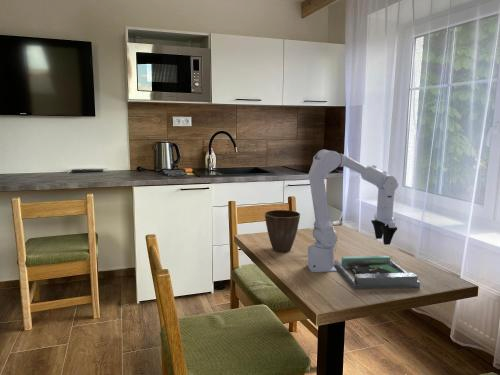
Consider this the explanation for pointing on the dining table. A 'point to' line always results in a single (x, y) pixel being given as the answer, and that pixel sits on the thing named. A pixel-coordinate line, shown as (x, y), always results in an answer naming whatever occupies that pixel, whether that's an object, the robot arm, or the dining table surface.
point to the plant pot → (282, 228)
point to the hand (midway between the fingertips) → (382, 241)
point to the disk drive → (373, 269)
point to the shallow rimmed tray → (381, 278)
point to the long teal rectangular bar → (364, 260)
